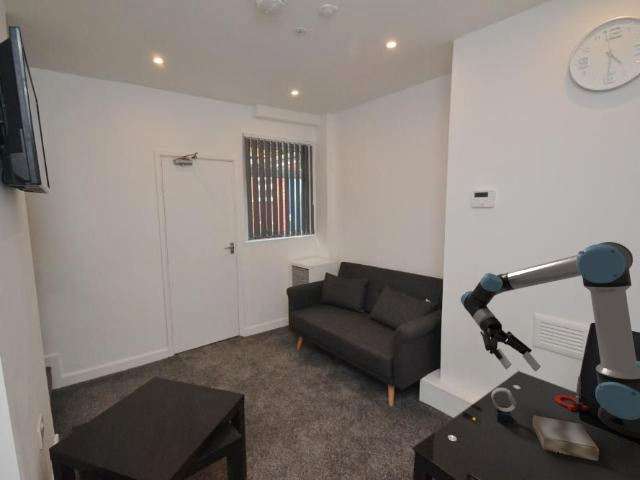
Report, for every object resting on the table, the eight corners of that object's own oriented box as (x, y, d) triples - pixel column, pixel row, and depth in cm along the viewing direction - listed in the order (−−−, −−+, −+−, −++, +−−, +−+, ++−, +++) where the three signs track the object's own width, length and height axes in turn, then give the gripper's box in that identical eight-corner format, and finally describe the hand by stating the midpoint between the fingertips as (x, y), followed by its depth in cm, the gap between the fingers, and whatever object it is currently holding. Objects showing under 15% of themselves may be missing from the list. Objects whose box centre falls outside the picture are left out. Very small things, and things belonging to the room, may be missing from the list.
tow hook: (550, 398, 129) (568, 411, 120) (551, 366, 128) (570, 378, 119) (570, 397, 129) (590, 411, 120) (571, 366, 129) (592, 377, 119)
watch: (517, 425, 112) (519, 395, 111) (491, 420, 115) (493, 391, 114) (513, 415, 118) (515, 387, 116) (489, 411, 120) (490, 383, 119)
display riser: (581, 434, 108) (582, 423, 107) (598, 461, 96) (599, 448, 96) (532, 425, 112) (533, 414, 112) (543, 449, 101) (544, 437, 101)
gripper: (506, 331, 136) (542, 376, 118) (458, 325, 128) (489, 372, 111) (516, 319, 132) (556, 363, 115) (467, 312, 125) (502, 358, 107)
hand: (523, 368), depth 113 cm, fingers open, 13 cm apart
